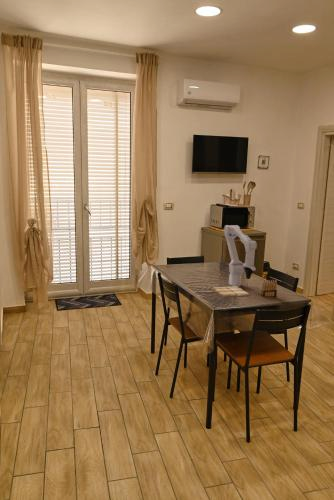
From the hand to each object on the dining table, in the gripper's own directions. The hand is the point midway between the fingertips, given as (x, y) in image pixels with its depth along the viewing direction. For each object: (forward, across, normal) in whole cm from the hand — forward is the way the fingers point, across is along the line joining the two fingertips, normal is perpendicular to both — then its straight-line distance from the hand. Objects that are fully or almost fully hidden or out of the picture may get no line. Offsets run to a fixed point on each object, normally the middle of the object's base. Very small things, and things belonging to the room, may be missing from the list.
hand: (248, 278), depth 269 cm
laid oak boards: (+9, +2, -17) cm, 20 cm away
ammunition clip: (+10, +13, +9) cm, 19 cm away
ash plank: (+9, +2, -8) cm, 12 cm away
